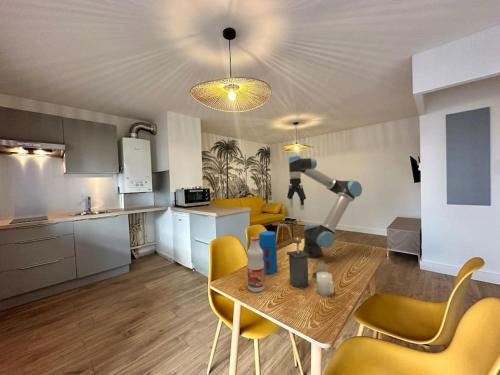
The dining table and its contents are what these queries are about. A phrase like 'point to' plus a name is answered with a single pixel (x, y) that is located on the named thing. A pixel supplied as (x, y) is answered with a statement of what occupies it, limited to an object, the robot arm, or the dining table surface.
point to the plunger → (297, 240)
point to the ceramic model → (319, 270)
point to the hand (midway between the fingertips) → (296, 209)
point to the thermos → (268, 251)
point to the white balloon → (325, 284)
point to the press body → (298, 269)
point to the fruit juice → (255, 266)
